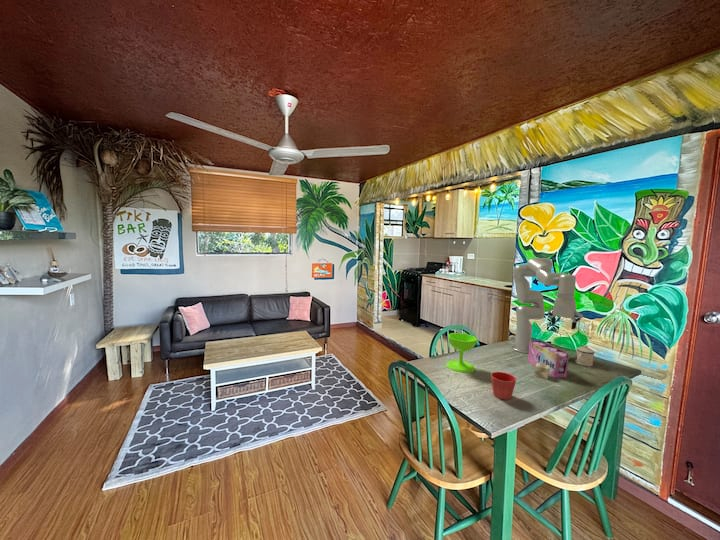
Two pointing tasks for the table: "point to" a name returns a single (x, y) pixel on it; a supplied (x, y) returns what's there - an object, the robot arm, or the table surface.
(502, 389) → the flower pot
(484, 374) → the table surface
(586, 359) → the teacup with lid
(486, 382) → the table surface
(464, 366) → the wineglass
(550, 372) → the gum box
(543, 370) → the birch block
